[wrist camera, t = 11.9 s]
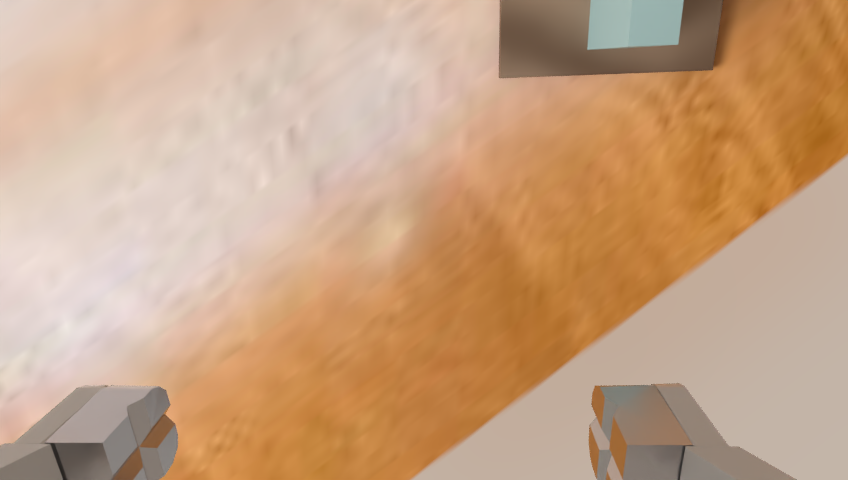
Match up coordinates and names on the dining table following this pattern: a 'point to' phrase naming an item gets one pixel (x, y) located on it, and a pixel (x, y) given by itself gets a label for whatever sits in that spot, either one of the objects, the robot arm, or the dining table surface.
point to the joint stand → (567, 49)
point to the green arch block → (634, 23)
